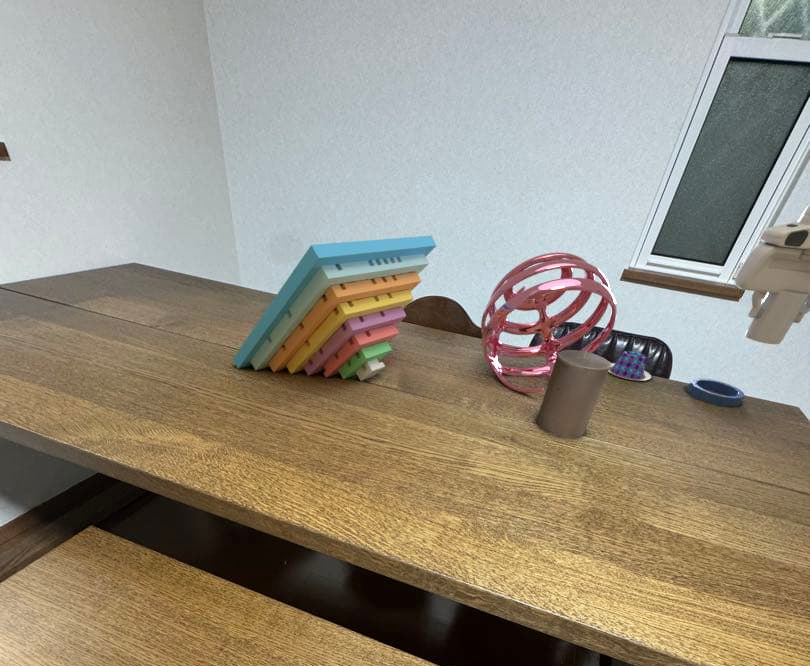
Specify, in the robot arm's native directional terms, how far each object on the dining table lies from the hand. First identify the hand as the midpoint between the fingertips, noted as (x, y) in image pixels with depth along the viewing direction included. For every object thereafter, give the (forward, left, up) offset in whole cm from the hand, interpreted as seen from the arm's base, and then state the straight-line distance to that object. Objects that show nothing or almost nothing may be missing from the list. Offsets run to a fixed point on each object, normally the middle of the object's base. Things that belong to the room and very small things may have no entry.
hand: (772, 319), depth 90 cm
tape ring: (-4, -12, -21) cm, 24 cm away
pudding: (+15, -21, -21) cm, 33 cm away
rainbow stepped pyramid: (+89, +1, -21) cm, 91 cm away
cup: (0, 0, -4) cm, 4 cm away
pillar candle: (+39, +18, -21) cm, 48 cm away
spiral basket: (+43, -5, -21) cm, 48 cm away
